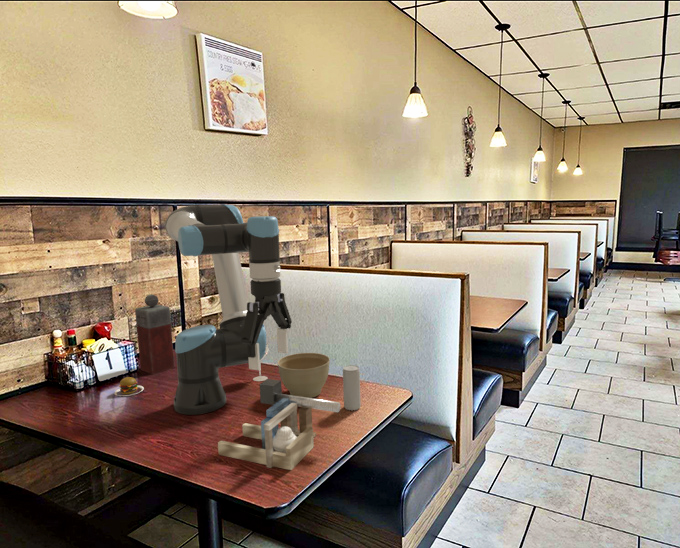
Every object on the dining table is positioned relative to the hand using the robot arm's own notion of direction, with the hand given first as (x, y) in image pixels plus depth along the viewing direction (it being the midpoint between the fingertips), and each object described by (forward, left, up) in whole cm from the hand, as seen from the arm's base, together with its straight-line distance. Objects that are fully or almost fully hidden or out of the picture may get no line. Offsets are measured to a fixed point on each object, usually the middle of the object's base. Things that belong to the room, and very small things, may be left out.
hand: (269, 360), depth 124 cm
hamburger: (-60, +8, -20) cm, 64 cm away
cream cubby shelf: (+7, 0, -19) cm, 20 cm away
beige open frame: (+4, -9, -19) cm, 22 cm away
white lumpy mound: (+9, -9, -20) cm, 23 cm away
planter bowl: (-4, +26, -20) cm, 33 cm away
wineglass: (-25, +33, -19) cm, 46 cm away
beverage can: (+14, +21, -19) cm, 32 cm away
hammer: (+9, -5, -19) cm, 21 cm away
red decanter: (-69, +30, -19) cm, 78 cm away
